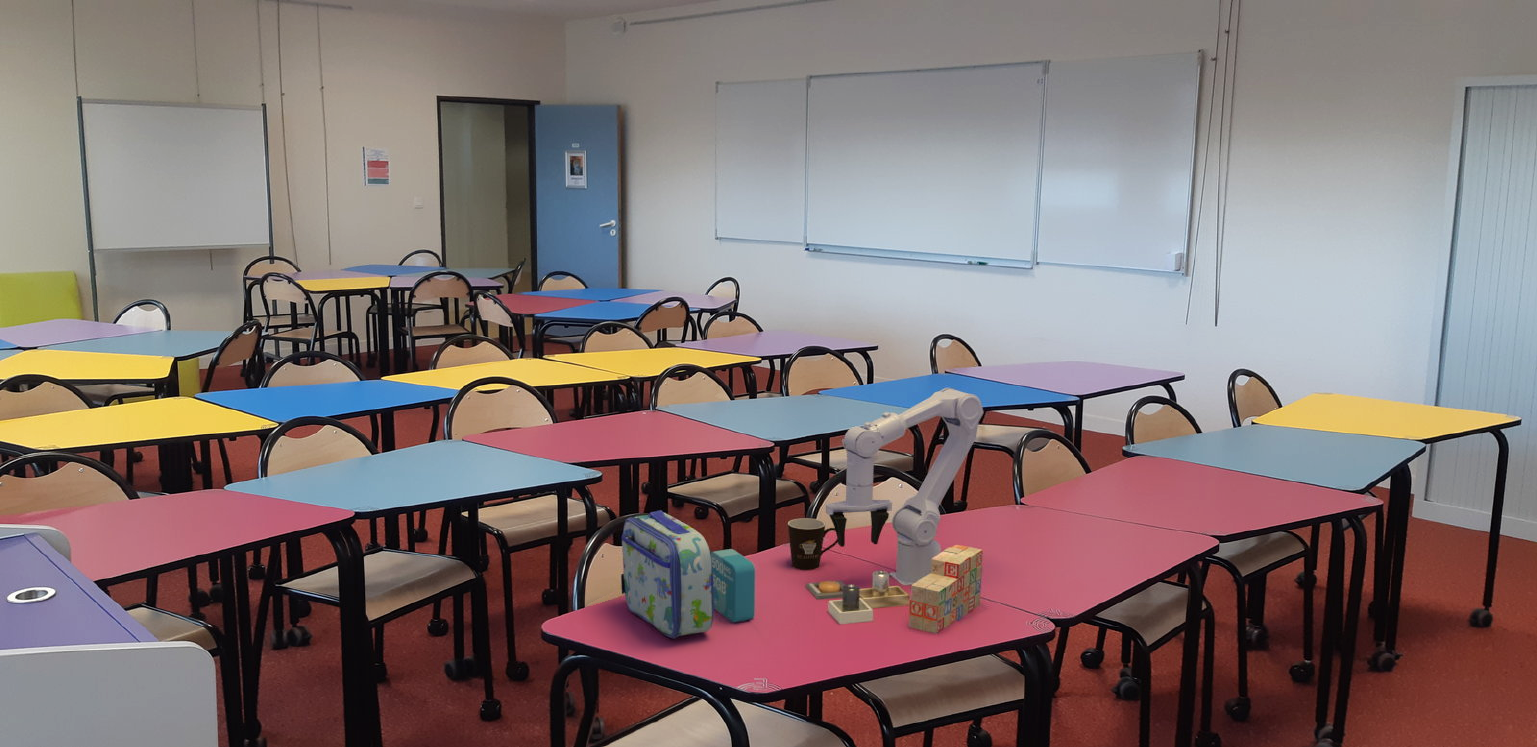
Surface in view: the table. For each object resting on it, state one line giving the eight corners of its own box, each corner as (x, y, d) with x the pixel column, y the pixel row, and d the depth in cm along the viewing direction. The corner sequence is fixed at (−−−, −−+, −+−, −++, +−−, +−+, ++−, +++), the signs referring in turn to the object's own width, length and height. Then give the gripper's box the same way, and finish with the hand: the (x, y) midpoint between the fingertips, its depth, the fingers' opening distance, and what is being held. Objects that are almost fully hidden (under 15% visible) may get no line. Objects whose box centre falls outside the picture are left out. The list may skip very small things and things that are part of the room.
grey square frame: (840, 585, 240) (840, 579, 240) (853, 598, 232) (853, 591, 232) (805, 588, 238) (805, 582, 238) (817, 601, 230) (817, 594, 230)
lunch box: (615, 604, 227) (615, 506, 224) (663, 596, 232) (663, 500, 229) (667, 649, 205) (667, 541, 201) (718, 639, 210) (719, 533, 207)
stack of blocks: (937, 637, 213) (939, 576, 211) (908, 629, 216) (910, 569, 214) (980, 604, 230) (983, 548, 229) (953, 598, 234) (955, 542, 232)
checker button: (835, 588, 238) (835, 579, 238) (842, 595, 234) (842, 586, 233) (816, 590, 237) (816, 581, 236) (822, 597, 232) (823, 588, 232)
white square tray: (860, 610, 226) (860, 597, 225) (872, 623, 219) (873, 610, 218) (828, 613, 224) (828, 600, 223) (839, 626, 217) (840, 613, 217)
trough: (898, 597, 234) (898, 585, 233) (908, 607, 228) (909, 595, 228) (853, 601, 231) (853, 589, 230) (862, 611, 225) (863, 599, 225)
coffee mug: (782, 569, 250) (783, 526, 249) (792, 557, 259) (793, 516, 257) (832, 574, 247) (833, 532, 246) (840, 563, 255) (841, 521, 254)
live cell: (881, 596, 232) (882, 567, 231) (891, 601, 229) (892, 572, 228) (868, 599, 230) (869, 570, 229) (878, 605, 227) (879, 575, 226)
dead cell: (855, 612, 223) (856, 581, 222) (861, 618, 220) (862, 587, 219) (839, 613, 222) (840, 583, 221) (845, 619, 219) (846, 588, 218)
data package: (709, 605, 227) (710, 549, 226) (729, 601, 229) (730, 546, 228) (734, 625, 217) (735, 567, 215) (755, 621, 219) (755, 563, 217)
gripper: (884, 476, 241) (882, 536, 243) (821, 480, 237) (820, 540, 239) (896, 484, 234) (894, 545, 236) (832, 488, 230) (830, 550, 233)
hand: (857, 544), depth 237 cm, fingers open, 7 cm apart
